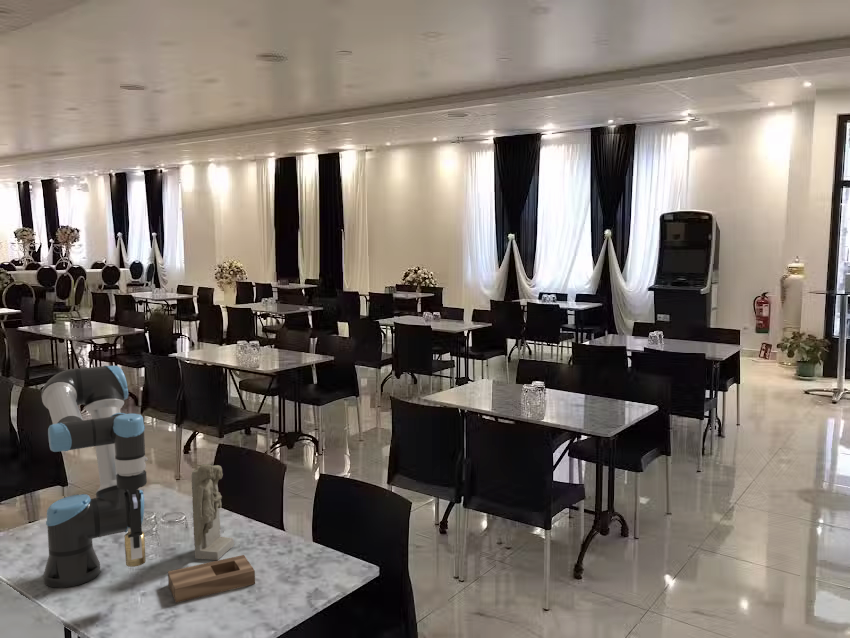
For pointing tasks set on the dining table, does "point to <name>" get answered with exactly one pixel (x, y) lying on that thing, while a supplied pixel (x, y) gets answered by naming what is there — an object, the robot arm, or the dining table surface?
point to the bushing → (128, 552)
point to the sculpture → (208, 514)
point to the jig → (210, 578)
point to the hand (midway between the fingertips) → (135, 554)
